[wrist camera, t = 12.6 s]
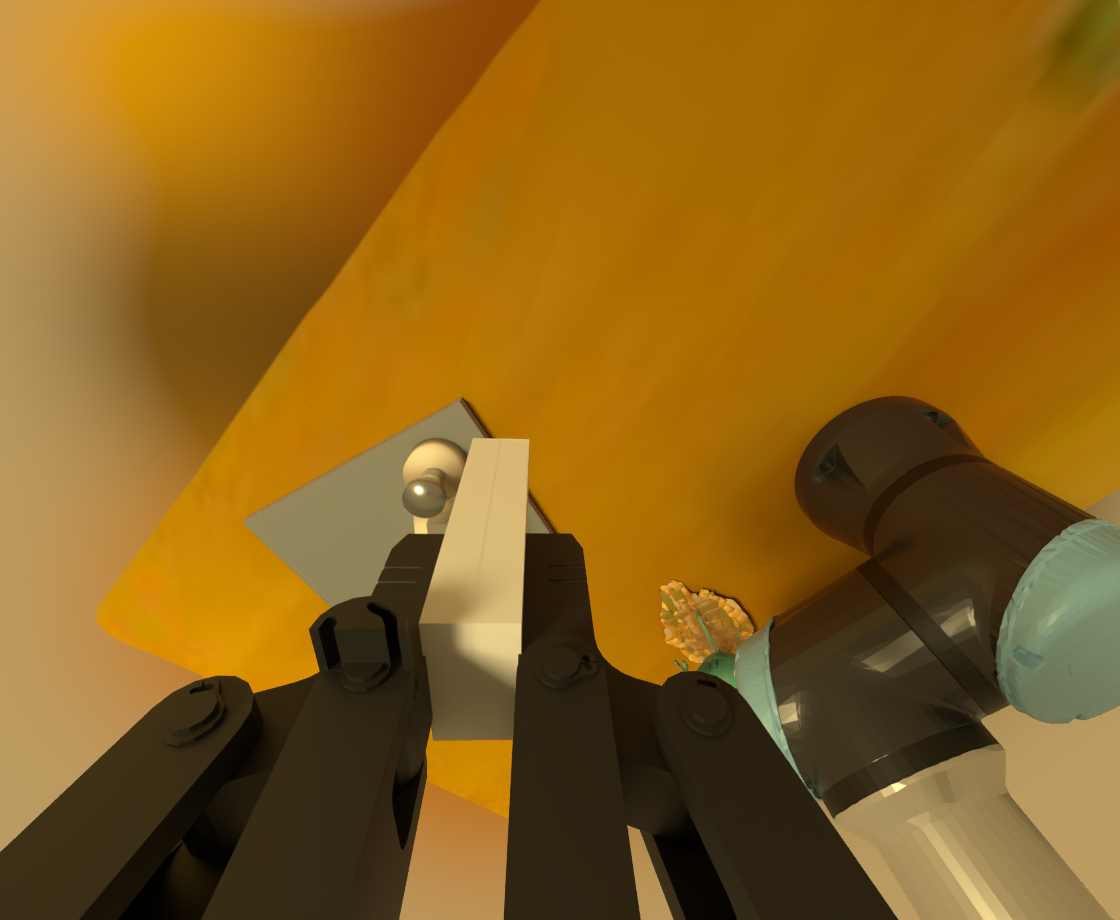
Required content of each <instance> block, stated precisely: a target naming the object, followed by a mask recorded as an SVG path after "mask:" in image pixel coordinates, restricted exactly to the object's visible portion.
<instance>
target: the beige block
mask: <svg viewBox="0 0 1120 920" xmlns="http://www.w3.org/2000/svg"><path fill="white" fill-rule="evenodd" d="M443 483H444V475H443V473H442V472H441V471H440V470H438V469H435V468H428V469H425V470H424V471H423V472H422V474H421V476H420V478H417V479H414V480H412V481H411V482H409V483H408V485H407V486H406V488H405V490H404V492H403V494H402V502H403V505H404V507H405V509H406V510H407V511H408V512H409V513H411V514H412V515H414V516H416V517H419V518H428V521H427V524H426V525H427V533H428V534H445V532H446V529H447V525H448V522H449V518H450V515H451V513H441V512H442V510H443V509H444V506H445V503H446V499H447V496H446V492H445V490H444V488H443V487H442V485H443Z"/></svg>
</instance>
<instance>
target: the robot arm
mask: <svg viewBox="0 0 1120 920" xmlns="http://www.w3.org/2000/svg"><path fill="white" fill-rule="evenodd" d="M528 486H529V439H492V438H473V440H472V443H471V447H470V450H469V454H468V457H467V460H466V464H465V467H464V471H463V474H462V478H461V481H460V484H459V488H458V491H457V495H456V498H455V501H454V505H453V508H452V512H451V515H450V518H449V522H448V525H447V529H446V532H445V534H407V535H406V536H405V537H404V538H403V539H402V540H401V541H400V542H398V543H397V544H396V545H395V546H394V547H393V548H392V549H391V552H390V554H389V556H388V558H387V561H386V563H385V565H384V569H383V570H382V572H381V574H380V577H379V579H378V584H376V586H375V588H374V590H373V593H372V595H371V596H365V597H357V598H352V599H350V600H347V601H344V602H342V603H339V604H336V605H335V606H333V607H332V608H330V609H329V610H327V611H326V612H324V613H323V614H321V615H320V616H319V617H318V619H317V620H316V621H315V622H314V623H313V625H312V626H311V627H310V628H309V632H310V635H311V639H312V643H313V647H314V651H315V654H316V658H317V662H318V666H319V669H320V671H319V673H317V674H315V675H313V676H311V677H309V678H306V679H303V680H300V681H297V682H295V683H291V684H287V685H283V686H280V687H276V688H272V689H269V690H265V691H261V692H257V693H254V694H253V692H252V690H251V688H250V685H249V683H248V682H246V681H244V680H242V679H240V678H238V677H236V676H214V677H210V678H206V679H202V680H198V681H195V682H193V683H191V684H189V685H187V686H185V687H183V688H181V689H179V690H177V691H175V692H173V693H172V694H170V695H169V696H168V697H166V698H165V699H164V700H162V701H161V702H160V703H158V704H157V705H156V706H155V707H153V708H152V709H151V710H150V711H149V712H148V713H147V714H146V715H145V716H144V717H143V718H142V719H141V720H139V721H138V722H137V723H136V724H135V725H134V726H133V727H132V728H131V729H130V730H129V731H128V732H127V733H126V734H125V735H124V736H123V737H121V738H120V739H119V740H118V741H117V742H116V743H115V744H114V745H113V746H112V747H111V748H110V749H109V750H108V751H107V752H106V753H105V754H104V755H102V756H101V757H100V758H99V759H98V760H97V761H96V762H95V763H94V764H93V765H92V766H91V767H90V768H89V769H88V770H87V771H86V772H84V773H83V774H82V775H81V776H80V777H79V778H78V779H77V780H76V781H75V782H74V783H73V784H72V785H71V786H70V787H69V788H68V789H66V791H64V792H63V793H62V794H61V795H60V796H59V797H58V798H57V799H56V800H55V801H54V802H53V803H52V804H51V805H50V806H49V807H47V809H45V810H44V811H43V812H42V813H41V814H40V815H39V816H38V817H37V818H36V819H35V820H34V821H33V822H32V823H31V824H30V825H28V827H26V828H25V829H24V830H23V831H22V832H21V833H20V834H19V835H18V836H17V837H16V838H15V839H14V840H13V841H12V842H10V843H9V844H8V846H6V847H5V848H4V849H3V850H2V851H1V852H0V920H399V916H400V912H401V907H402V901H403V896H404V891H405V886H406V881H407V876H408V871H409V865H410V860H411V855H412V850H413V845H414V840H415V835H416V830H417V825H418V820H419V815H420V809H421V804H422V799H423V794H424V789H425V784H426V779H427V758H426V747H427V742H428V737H429V733H430V728H431V727H432V735H433V741H444V740H513V749H512V768H511V787H510V807H509V826H508V847H507V866H506V884H505V905H504V920H641V919H640V912H639V905H638V898H637V891H636V884H635V878H634V871H633V864H632V856H631V849H630V842H629V835H628V828H627V825H629V826H631V827H634V828H637V829H640V832H641V834H642V837H643V840H644V842H645V845H646V848H647V850H648V853H649V855H650V858H651V861H652V863H653V866H654V869H655V871H656V874H657V877H658V879H659V882H660V885H661V887H662V890H663V893H664V895H665V898H666V900H667V903H668V906H669V909H670V911H671V914H672V917H673V919H674V920H898V919H897V917H896V916H895V914H894V913H893V911H892V910H891V909H890V907H889V906H888V904H887V903H886V902H885V900H884V898H883V897H882V896H881V894H880V893H879V891H878V890H877V888H876V887H875V885H874V884H873V883H872V881H871V880H870V878H869V877H868V875H867V874H866V873H865V871H864V870H863V868H862V867H861V865H860V864H859V862H858V861H857V859H856V858H855V857H854V855H853V854H852V852H851V851H850V849H849V848H848V847H847V845H846V844H845V842H844V841H843V839H842V838H841V836H840V835H839V833H838V832H837V831H836V829H835V828H834V826H833V825H832V824H831V822H830V820H829V819H828V818H827V816H826V815H825V813H824V812H823V810H822V809H821V807H820V806H819V805H818V803H817V802H821V801H822V800H823V802H824V804H825V805H826V807H827V809H828V811H829V812H830V814H831V816H832V818H833V819H834V821H835V822H836V824H837V826H839V827H841V828H843V829H845V830H847V831H849V832H851V833H853V834H855V835H857V836H859V837H861V838H863V839H865V840H867V841H868V842H870V843H871V844H872V845H873V846H875V847H876V848H877V849H878V850H879V852H880V854H881V855H882V857H883V858H884V860H885V861H886V863H887V865H888V867H889V868H890V870H891V872H892V873H893V875H894V876H895V878H896V880H897V881H898V883H899V885H900V886H901V888H902V890H903V891H904V893H905V895H906V896H907V898H908V899H909V901H910V903H911V904H912V906H913V908H914V909H915V911H916V913H917V914H918V916H919V917H920V919H921V920H1113V919H1112V918H1111V917H1110V916H1109V915H1108V914H1107V912H1106V911H1105V910H1104V909H1103V907H1102V906H1101V905H1100V904H1099V903H1098V901H1097V900H1096V899H1095V898H1094V896H1093V895H1092V894H1091V893H1090V892H1089V891H1088V889H1087V888H1086V887H1085V886H1084V884H1083V883H1082V882H1081V881H1080V880H1079V878H1078V877H1077V876H1076V875H1075V874H1074V872H1073V871H1072V870H1071V869H1070V868H1069V866H1068V865H1067V864H1066V863H1065V861H1064V860H1063V859H1062V858H1061V857H1060V855H1059V854H1058V853H1057V852H1056V851H1055V849H1054V848H1053V847H1052V846H1051V844H1050V843H1049V842H1048V841H1047V840H1046V839H1045V837H1044V836H1043V835H1042V834H1041V832H1040V831H1039V830H1038V829H1037V828H1036V826H1035V825H1034V824H1033V823H1032V822H1031V820H1030V819H1029V818H1028V817H1027V815H1026V814H1025V813H1024V812H1023V811H1022V809H1021V808H1020V807H1019V806H1018V805H1017V804H1016V802H1015V801H1014V800H1013V799H1012V797H1011V796H1010V794H1009V792H1008V790H1007V788H1006V786H1005V749H1004V748H1003V747H1002V745H1001V744H999V742H998V741H997V740H996V739H995V738H994V737H993V736H992V735H991V734H990V732H989V731H988V730H987V729H986V728H985V726H984V725H983V724H982V723H981V719H982V718H984V717H986V716H987V715H990V714H992V713H994V712H996V711H998V710H1000V709H1002V708H1005V707H1006V706H1009V705H1010V704H1011V705H1012V706H1014V708H1015V709H1016V710H1018V711H1019V712H1022V713H1025V714H1027V715H1029V716H1030V717H1032V718H1034V719H1036V720H1039V721H1043V722H1047V723H1061V724H1062V723H1069V722H1070V721H1071V720H1073V719H1074V718H1076V719H1080V720H1086V719H1090V718H1093V717H1095V716H1098V715H1101V714H1103V713H1105V712H1107V711H1109V710H1111V709H1114V708H1116V707H1117V706H1119V705H1120V528H1118V527H1117V526H1115V525H1114V524H1113V523H1110V522H1107V521H1105V520H1103V519H1098V518H1096V517H1094V516H1092V515H1090V514H1088V513H1086V512H1085V511H1083V510H1081V509H1079V508H1077V507H1075V506H1073V505H1071V504H1070V503H1068V502H1066V501H1064V500H1062V499H1060V498H1058V497H1056V496H1055V495H1053V494H1051V493H1049V492H1047V491H1045V490H1043V489H1041V488H1040V487H1038V486H1036V485H1034V484H1032V483H1030V482H1028V481H1026V480H1025V479H1023V478H1021V477H1019V476H1017V475H1015V474H1013V473H1011V472H1010V471H1008V470H1006V469H1004V468H1002V467H1000V466H998V465H996V464H994V463H992V462H991V461H989V460H987V459H986V458H985V457H984V456H983V455H982V453H981V452H980V451H979V450H978V448H977V447H976V446H975V445H974V443H973V442H972V441H971V439H970V438H969V437H968V436H967V434H966V433H965V432H964V431H963V429H962V428H961V427H960V426H959V424H958V423H957V422H956V421H955V420H954V419H953V418H952V417H950V416H949V415H948V414H946V413H945V412H943V411H942V410H940V409H938V408H936V407H934V406H932V405H930V404H928V403H925V402H923V401H921V400H918V399H915V398H910V397H902V396H891V397H883V398H877V399H873V400H870V401H866V402H864V403H861V404H859V405H856V406H854V407H852V408H850V409H848V410H846V411H845V412H843V413H841V414H840V415H838V416H837V417H835V418H834V419H833V420H831V421H830V422H829V423H828V424H827V425H825V426H824V427H823V428H822V429H821V430H820V431H819V432H818V433H817V434H816V436H815V437H814V438H813V439H812V441H811V442H810V443H809V445H808V446H807V448H806V449H805V451H804V453H803V455H802V457H801V459H800V462H799V464H798V468H797V471H796V477H795V493H796V497H797V501H798V503H799V505H800V507H801V509H802V510H803V512H804V513H805V514H806V515H807V517H808V518H809V519H810V520H811V521H812V522H813V523H814V524H815V525H816V526H817V527H818V528H819V529H820V530H821V531H823V532H824V533H825V534H827V535H828V536H830V537H832V538H834V539H837V540H839V541H841V542H843V543H845V544H847V545H849V546H851V547H853V548H855V549H857V550H859V551H861V552H864V553H866V554H868V555H870V556H871V557H872V558H871V559H870V560H868V561H866V562H865V563H863V564H862V565H860V566H859V567H857V568H855V569H853V570H852V571H850V572H848V573H847V574H845V575H844V576H842V577H841V578H839V579H837V580H836V581H834V582H833V583H831V584H830V585H828V586H826V587H825V588H823V589H822V590H820V591H818V592H817V593H815V594H814V595H812V596H811V597H809V598H807V599H806V600H804V601H802V602H801V603H799V604H797V605H796V606H794V607H792V608H791V609H789V610H788V611H786V612H784V613H783V614H781V615H777V616H774V617H772V618H771V619H770V620H769V621H768V622H767V624H766V625H765V626H764V627H762V628H761V629H760V630H758V631H757V632H755V633H754V634H752V635H751V636H750V637H748V638H747V639H745V640H744V641H743V642H742V643H741V644H740V646H739V648H738V650H737V652H736V657H735V678H736V684H737V688H738V691H737V690H736V689H735V688H734V687H733V686H732V685H730V684H729V683H727V682H725V681H724V680H722V679H720V678H719V677H717V676H715V675H711V674H708V673H704V672H700V671H686V672H680V673H678V674H676V675H674V676H671V677H669V678H668V679H667V680H666V681H665V683H664V684H663V685H662V686H660V685H657V684H653V683H650V682H647V681H643V680H640V679H636V678H634V677H631V676H629V675H626V674H624V673H622V672H620V671H619V670H617V669H616V668H614V667H613V666H611V665H610V664H609V663H608V662H607V661H606V660H605V659H604V658H603V656H602V654H601V653H600V651H599V650H598V648H597V644H596V641H595V637H594V629H593V622H592V614H591V607H590V599H589V592H588V584H587V577H586V569H585V561H584V554H583V548H582V547H581V545H580V544H579V543H578V542H577V540H576V539H575V538H574V536H573V535H572V534H555V533H528Z"/></svg>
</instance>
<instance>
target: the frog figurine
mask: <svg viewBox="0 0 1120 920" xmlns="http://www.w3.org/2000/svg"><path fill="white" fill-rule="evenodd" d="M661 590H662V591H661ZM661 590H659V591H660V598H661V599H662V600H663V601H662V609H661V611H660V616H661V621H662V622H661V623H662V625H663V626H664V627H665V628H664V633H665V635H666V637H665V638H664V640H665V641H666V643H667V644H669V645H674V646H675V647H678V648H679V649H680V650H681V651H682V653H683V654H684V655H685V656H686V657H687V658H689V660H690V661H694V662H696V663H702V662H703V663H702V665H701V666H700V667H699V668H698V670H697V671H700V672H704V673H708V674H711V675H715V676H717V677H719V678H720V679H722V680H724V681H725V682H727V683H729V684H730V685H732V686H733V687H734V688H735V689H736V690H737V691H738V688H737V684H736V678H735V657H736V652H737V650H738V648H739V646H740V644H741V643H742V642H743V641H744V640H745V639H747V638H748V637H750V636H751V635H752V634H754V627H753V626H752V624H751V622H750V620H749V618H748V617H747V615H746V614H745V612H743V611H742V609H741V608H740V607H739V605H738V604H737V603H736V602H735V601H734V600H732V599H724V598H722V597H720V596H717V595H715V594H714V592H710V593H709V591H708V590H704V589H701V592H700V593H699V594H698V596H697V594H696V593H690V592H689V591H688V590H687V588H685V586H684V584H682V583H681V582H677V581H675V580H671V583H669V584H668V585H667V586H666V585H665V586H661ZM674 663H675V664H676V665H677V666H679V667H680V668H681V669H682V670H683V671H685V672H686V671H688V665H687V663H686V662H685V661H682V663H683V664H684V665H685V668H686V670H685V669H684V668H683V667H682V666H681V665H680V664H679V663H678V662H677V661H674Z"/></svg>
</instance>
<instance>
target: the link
mask: <svg viewBox="0 0 1120 920" xmlns="http://www.w3.org/2000/svg"><path fill="white" fill-rule="evenodd" d="M465 464H466V458H465V455H464V453H463V452H462V450H461V449H460V448H459V447H458V446H457V445H455V444H454V443H452V442H450V441H448V440H445V439H441V438H430V439H426V440H423V441H421V442H420V443H418V444H417V445H416V446H415V447H414V449H413V450H412V452H411V454H410V456H409V457H408V459H407V461H406V463H405V465H404V468H403V478H404V481H405V484H406V486H407V485H408V483H409V482H411V481H412V480H414V479H417V478H420V476H421V474H422V472H423V471H424V470H425V469H428V468H435V469H438V470H440V471H441V472H442V473H443V475H444V483H443V485H442V487H443V488H444V490H445V492H446V496H447V499H446V503H445V506H444V509H443V510H442V512H441V513H451V512H452V508H453V505H454V501H455V498H456V495H457V491H458V488H459V484H460V481H461V478H462V474H463V471H464V467H465ZM413 517H414V529H415V534H428V533H427V525H426V524H427V521H428V518H419V517H416V516H414V515H413Z"/></svg>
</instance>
